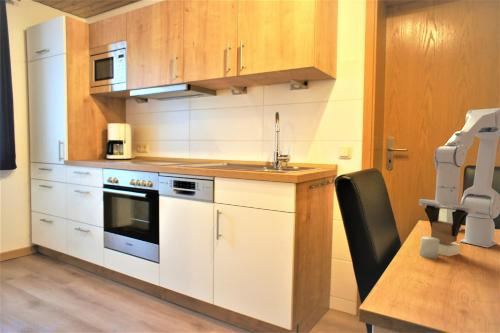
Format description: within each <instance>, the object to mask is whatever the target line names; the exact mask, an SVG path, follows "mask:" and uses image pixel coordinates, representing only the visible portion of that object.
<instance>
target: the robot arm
mask: <svg viewBox="0 0 500 333" xmlns="http://www.w3.org/2000/svg"><path fill="white" fill-rule="evenodd" d="M464 121H465V124H464V126H463V127H462V129H461V130H458V131H456V130H455V132H454V133H453V134H452V136H451V137H450V138H449V139H448V141H447V142H446V143H445V144H444V145H442V146H441V145H440V146H439V147H437V148H436V149H435V150H434V154H433V163H434V169H435V171H436V180H435V181H436V182H435V195H434V196H435V198H434V199H425V198H419V199H418V206H421V207H423V206H424V207H425V208H424V212H425V214H426V216H427V218H428V221H429V225H430V227H431V228H430V229H431V230H432V222H435V221H439V211H440V208H442V209H449V210H456V211H454V212H452V217H453V228H452V236H457V237H458V235H459V232H460V231H459V229H460V227H461V225H462V224H463V222H465V227H464V228H465V231H464V238H462V239H460V240H459V242H460V243H465V244H469V245H474V246H477V247H483V248H490V247H493V246H495V245H497V244H498V242H497V241H495V240H494V239H495V229H496V228H495V227H496V225H495V222H494V219H496V218H497V217H498V216H499V215H500V193H498V191H496V190H495V189H494V188H493V187H492V186H493V185H492V184H493V178H494V173H495V172H494V171H495V165H496V159H497V152H498V145H499V142H500V140H499V139H500V107H496V108H484V109H483V108H482V109H469V110H468V111H467V113H466V115H465V120H464ZM474 137H477V138H478V139H479V146H478V151H477V158H476V165H475V171H474V172H475V173H474V178H473V185H472V186H470V187H468V188H466V189H465V190H464V192H463V195H462V197H461V198H460V199H461V200H460V202H459V196H460V194H459V192H460V180H461V177H460V176H461V167H462V166H464V164H465V161H466V157H467V156H468V150H469V149H470V148H471V147H472V146H473V144H474V142H475V140H474ZM442 206H448V207H442ZM449 207H452V208H449ZM456 208H457V209H456ZM462 226H463V225H462ZM461 228H462V227H461Z"/></svg>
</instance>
